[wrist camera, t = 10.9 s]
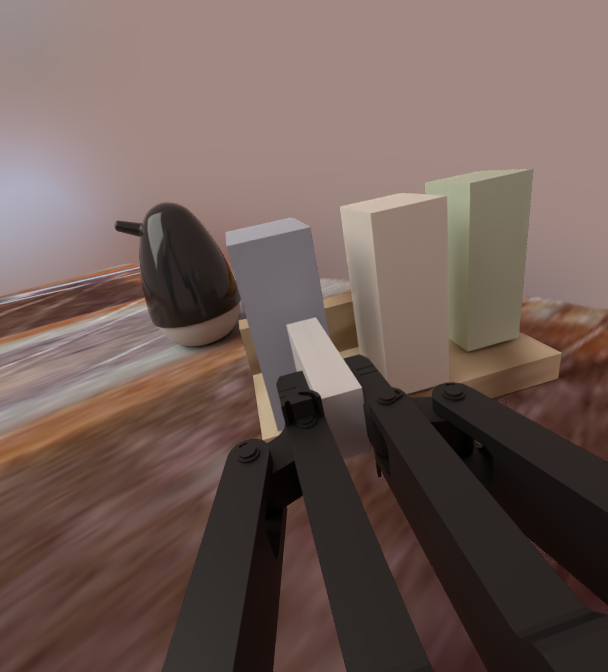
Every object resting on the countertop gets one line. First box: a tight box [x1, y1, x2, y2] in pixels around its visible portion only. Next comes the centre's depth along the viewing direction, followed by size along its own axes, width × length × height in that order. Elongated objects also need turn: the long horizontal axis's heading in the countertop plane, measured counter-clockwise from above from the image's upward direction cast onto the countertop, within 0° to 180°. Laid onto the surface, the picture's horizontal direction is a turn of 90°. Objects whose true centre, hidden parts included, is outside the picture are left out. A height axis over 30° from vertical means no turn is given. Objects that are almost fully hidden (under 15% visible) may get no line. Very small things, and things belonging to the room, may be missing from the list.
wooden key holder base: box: [239, 292, 562, 443], centre depth 26 cm, size 20×10×6 cm, turn 102°
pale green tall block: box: [425, 169, 533, 352], centre depth 25 cm, size 4×5×11 cm
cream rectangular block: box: [340, 193, 449, 394], centre depth 22 cm, size 4×5×11 cm
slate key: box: [226, 218, 329, 431], centre depth 21 cm, size 4×5×11 cm
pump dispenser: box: [115, 202, 241, 346], centre depth 39 cm, size 10×10×15 cm
